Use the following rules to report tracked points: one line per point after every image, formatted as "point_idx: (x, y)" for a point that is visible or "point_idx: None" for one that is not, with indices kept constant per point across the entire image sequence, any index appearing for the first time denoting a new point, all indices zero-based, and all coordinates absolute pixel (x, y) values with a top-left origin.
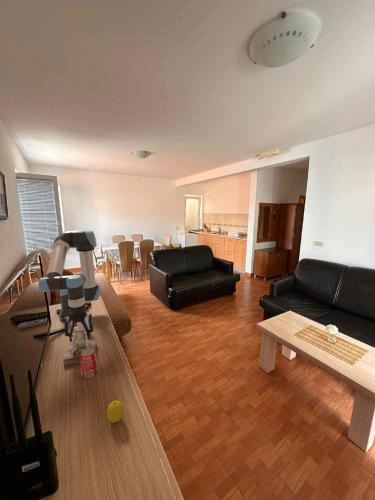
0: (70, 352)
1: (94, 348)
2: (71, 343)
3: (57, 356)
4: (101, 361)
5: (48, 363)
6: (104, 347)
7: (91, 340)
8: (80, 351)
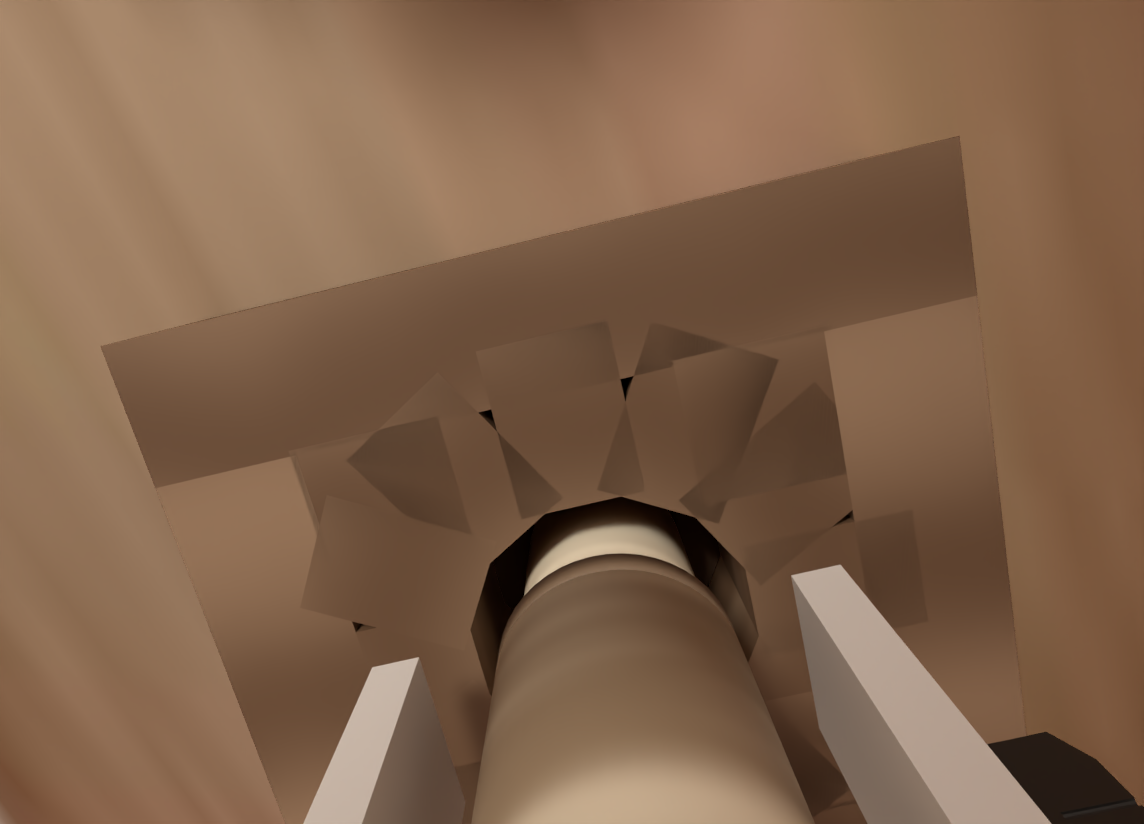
0: None
1: (1013, 657)
2: (173, 346)
3: (61, 574)
4: None
5: (22, 774)
6: (1110, 314)
7: (803, 213)
8: None
